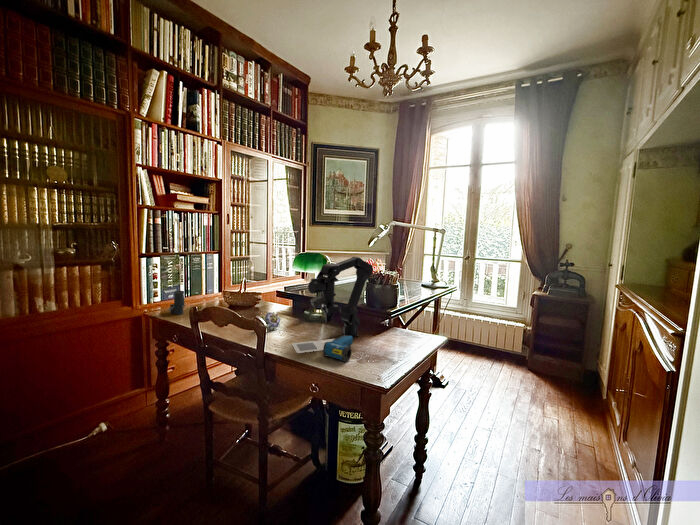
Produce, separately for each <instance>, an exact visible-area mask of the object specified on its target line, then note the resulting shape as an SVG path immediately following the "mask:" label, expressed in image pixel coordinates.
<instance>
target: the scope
mask: <svg viewBox="0 0 700 525" xmlns="http://www.w3.org/2000/svg"><path fill="white" fill-rule="evenodd" d="M173 294H174V295H173V304H170V305H169V307H168V309H167V311H168V312H170V314H174V315H177V316H181V315H184V308H185V307H186V303H185V291H184V290H175V291H174V292H173Z"/></svg>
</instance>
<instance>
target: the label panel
mask: <svg viewBox="0 0 700 525" xmlns="http://www.w3.org/2000/svg"><path fill="white" fill-rule="evenodd" d="M334 339H335V338H330V339H329V338H327V339H321V340H309V341H301V342H292V343H291V346H292V347H294V348H293V349H294V351H295V353H296V354H297V353H298V354H304V353H305V352H306V353H311V352H313V351H314V352H320V351H323V348H324V344H325V343H326V342H332V341H333V340H334Z"/></svg>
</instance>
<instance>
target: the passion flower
mask: <svg viewBox="0 0 700 525" xmlns="http://www.w3.org/2000/svg"><path fill="white" fill-rule="evenodd" d="M261 318H262V319H263V320H264V321H265V322H266V324H267V327H266V328H269V330H270V331H272V330H273V331H274V332H276V331H277V327H278V328H280V327H281V321H282V318H280V315H279V314H277V313H275V311H272V312H270V311H269V310H266V314H265V315H261V317H260V319H261Z"/></svg>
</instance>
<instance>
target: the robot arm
mask: <svg viewBox="0 0 700 525" xmlns="http://www.w3.org/2000/svg"><path fill="white" fill-rule="evenodd" d="M351 268H354V269H356V271H355V275H356V276H355V277H356V280H355V282H354V285H353V289H352V291H351V294H350V297H349V298H348V302H347V304H346V305H342V307H340V306H339V305H338V304H336V301H335V296H336V295H337V294H336V293H335V292H336V291H335V285H336V284H335V283H336V282H339V279H338V278H337V276H339V275H340V274H341V273H342V272H343V271H345V270H349V269H351ZM373 271H374V267H373V265H372V264H371V263H368V262H366V261H365V260H363V259H362V258H360V257H358V256H351V257H350V258H348V259H345V260H342V261H339V262H336V263H326V264H323V265H322V266H321V269H320V270H319V272H318V274H317V276H316V278H310V282H308V284H307V289H308V291H309V293H310V294H317V293H318V294H319V293H320V295H319V296H316V297H313V298H311V299H310V300H309V301H310V305H311V307H313V308H314V309H315V308H318V307H319V308H320V309H321V310H322V311H323V314H324V317H325V322H326V324H327V323H330V321H331V319H332V318H333V315H334V314H337V313H339V317H340V319H341V321H342V322H341V323H343V324H344V325H343V327H342V335H348V336H352V337H353V338H354V337H355V338H356V337H359V334H358V326H359V325H360V324H361V319H360V318H359V317H358V313H359V311H358V304H359V301H360V299H361V295H362V293H363V289H364V287H365V285H366V282H367V280H368V279H370V278H371V276H372V274H373Z"/></svg>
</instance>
